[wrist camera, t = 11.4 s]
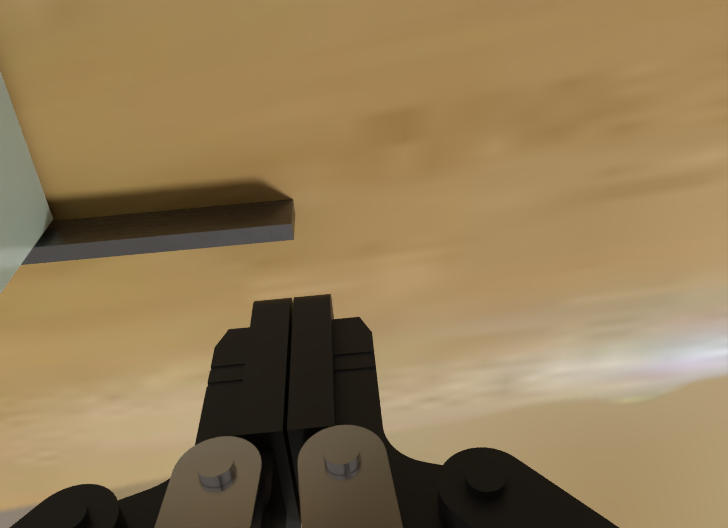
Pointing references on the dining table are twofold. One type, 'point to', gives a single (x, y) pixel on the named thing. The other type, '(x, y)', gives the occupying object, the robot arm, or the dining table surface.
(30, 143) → the dining table surface
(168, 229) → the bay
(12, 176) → the crate
